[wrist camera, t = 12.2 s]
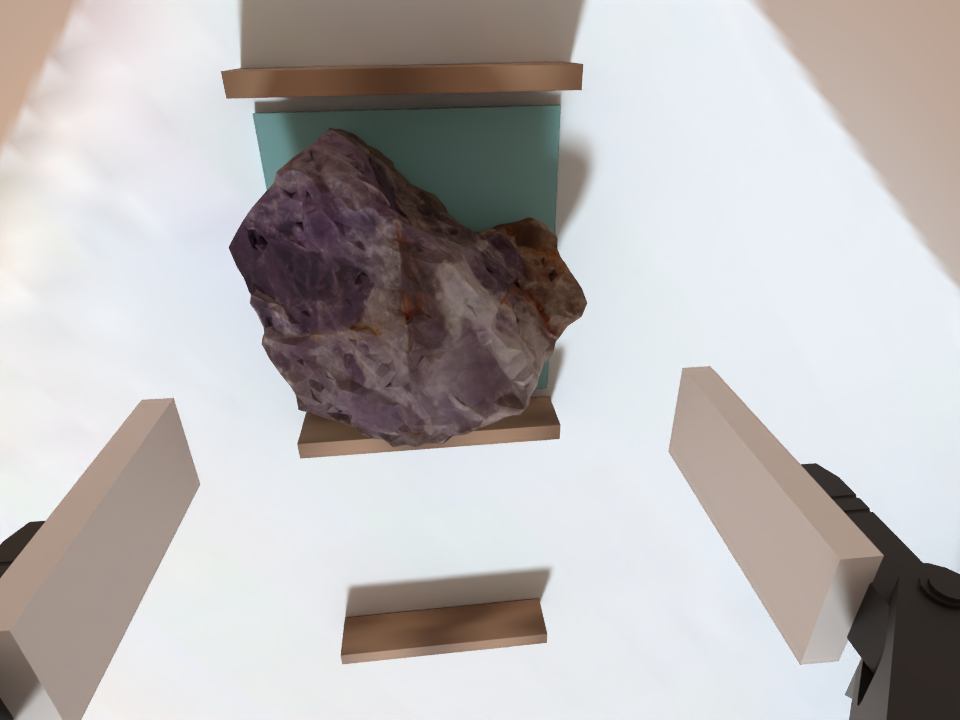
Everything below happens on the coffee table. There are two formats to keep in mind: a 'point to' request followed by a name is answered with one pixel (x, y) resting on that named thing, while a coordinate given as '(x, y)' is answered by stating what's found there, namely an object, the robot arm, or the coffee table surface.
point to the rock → (398, 298)
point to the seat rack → (536, 422)
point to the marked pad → (445, 156)
